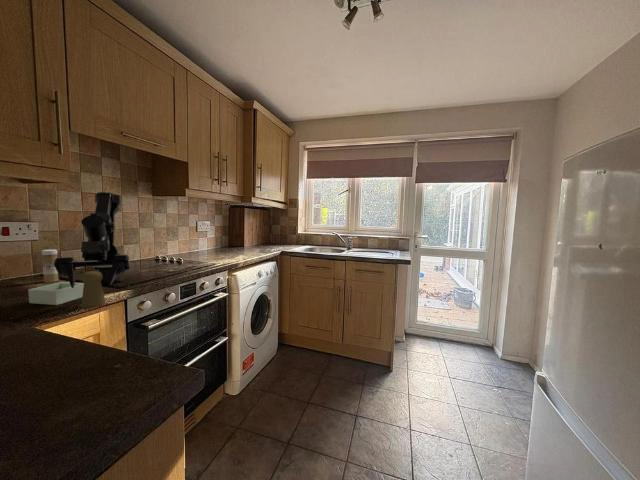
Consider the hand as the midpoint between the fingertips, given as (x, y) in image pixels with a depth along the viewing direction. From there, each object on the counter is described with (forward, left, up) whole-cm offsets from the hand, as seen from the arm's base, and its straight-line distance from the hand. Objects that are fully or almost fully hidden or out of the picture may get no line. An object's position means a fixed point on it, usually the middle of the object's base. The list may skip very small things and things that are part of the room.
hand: (91, 285), depth 84 cm
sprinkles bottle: (-23, -44, -7) cm, 50 cm away
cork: (-1, -1, -7) cm, 7 cm away
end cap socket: (-4, -17, -7) cm, 19 cm away
